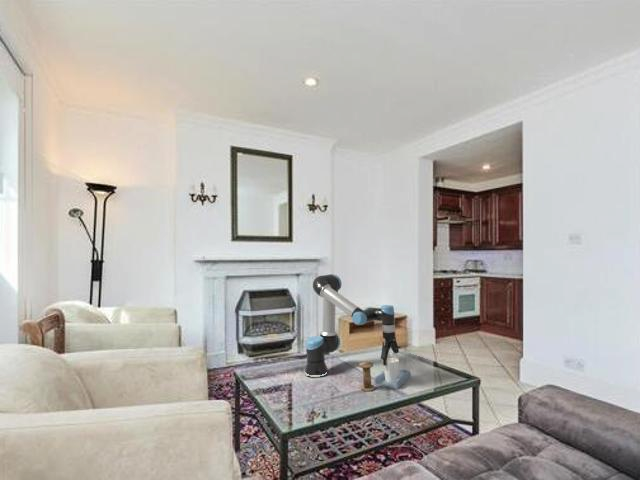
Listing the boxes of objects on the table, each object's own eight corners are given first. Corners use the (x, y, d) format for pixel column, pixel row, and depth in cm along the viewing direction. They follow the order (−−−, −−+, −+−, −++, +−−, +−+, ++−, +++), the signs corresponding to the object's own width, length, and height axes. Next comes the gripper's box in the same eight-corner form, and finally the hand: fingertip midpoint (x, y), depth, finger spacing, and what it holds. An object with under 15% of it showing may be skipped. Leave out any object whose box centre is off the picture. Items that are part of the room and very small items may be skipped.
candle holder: (401, 383, 200) (399, 362, 200) (383, 383, 202) (382, 362, 202) (400, 377, 210) (399, 357, 210) (384, 377, 212) (382, 357, 212)
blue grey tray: (374, 384, 203) (374, 377, 203) (389, 374, 219) (388, 367, 219) (397, 389, 194) (397, 381, 194) (410, 377, 210) (410, 370, 211)
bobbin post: (358, 389, 197) (356, 365, 197) (365, 385, 203) (363, 361, 204) (370, 392, 192) (369, 367, 193) (377, 387, 198) (375, 362, 199)
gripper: (385, 336, 195) (387, 374, 194) (402, 327, 215) (404, 362, 214) (373, 335, 199) (375, 372, 199) (391, 326, 219) (393, 360, 219)
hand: (390, 367), depth 206 cm, fingers open, 13 cm apart
